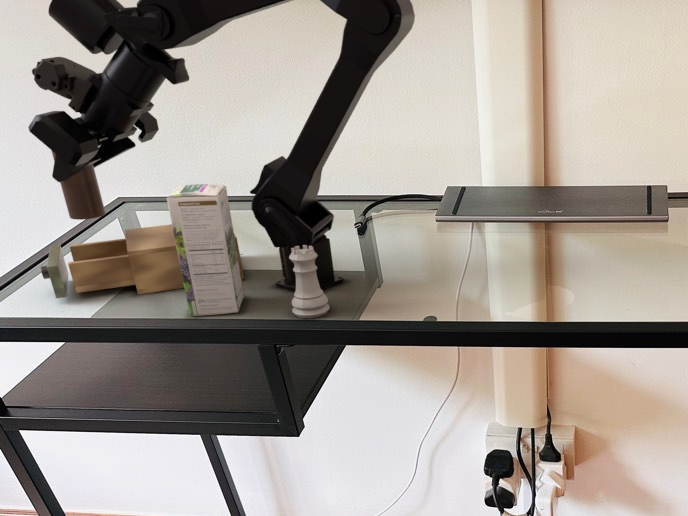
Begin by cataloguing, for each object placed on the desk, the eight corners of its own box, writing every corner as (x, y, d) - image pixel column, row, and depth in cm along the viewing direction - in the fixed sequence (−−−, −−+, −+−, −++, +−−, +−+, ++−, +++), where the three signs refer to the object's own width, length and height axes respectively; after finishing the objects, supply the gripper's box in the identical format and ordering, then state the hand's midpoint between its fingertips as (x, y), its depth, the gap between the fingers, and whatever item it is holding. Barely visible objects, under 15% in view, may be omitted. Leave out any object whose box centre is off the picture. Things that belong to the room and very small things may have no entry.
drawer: (45, 300, 102) (35, 268, 100) (48, 276, 110) (39, 247, 108) (162, 283, 108) (155, 253, 106) (157, 262, 116) (150, 233, 114)
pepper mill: (111, 214, 108) (89, 127, 103) (78, 221, 105) (54, 131, 100) (96, 209, 110) (74, 123, 105) (64, 216, 107) (39, 128, 102)
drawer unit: (138, 294, 106) (127, 251, 104) (134, 269, 115) (124, 229, 113) (244, 279, 111) (236, 237, 109) (233, 256, 120) (225, 217, 118)
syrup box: (198, 300, 104) (173, 184, 97) (246, 297, 105) (225, 182, 98) (189, 317, 99) (163, 196, 92) (241, 313, 100) (218, 193, 93)
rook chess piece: (320, 320, 98) (311, 255, 94) (285, 317, 99) (275, 252, 95) (336, 307, 102) (328, 243, 98) (302, 304, 102) (293, 241, 99)
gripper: (114, 27, 105) (57, 117, 111) (19, 37, 89) (-42, 142, 95) (186, 93, 108) (126, 177, 114) (107, 114, 92) (42, 211, 98)
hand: (67, 175), depth 105 cm, fingers closed on pepper mill, 4 cm apart
